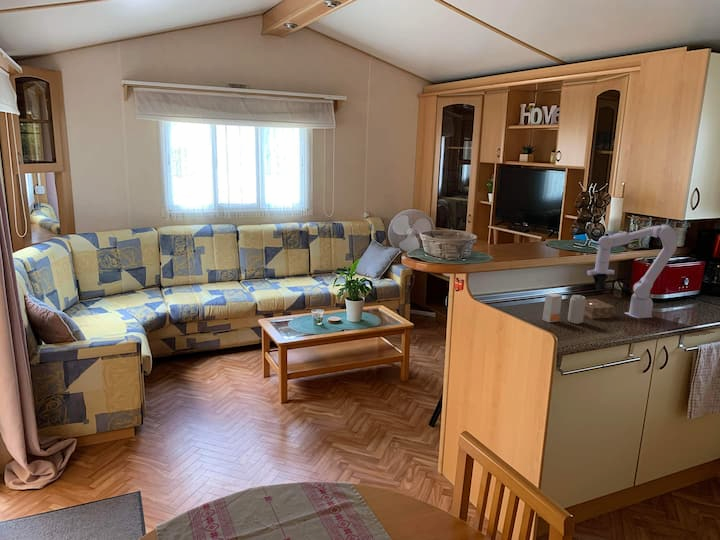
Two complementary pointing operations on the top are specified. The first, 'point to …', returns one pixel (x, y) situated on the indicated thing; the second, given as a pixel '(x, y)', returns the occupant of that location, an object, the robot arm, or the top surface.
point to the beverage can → (576, 309)
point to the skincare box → (552, 308)
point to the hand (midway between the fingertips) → (598, 289)
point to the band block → (598, 309)
